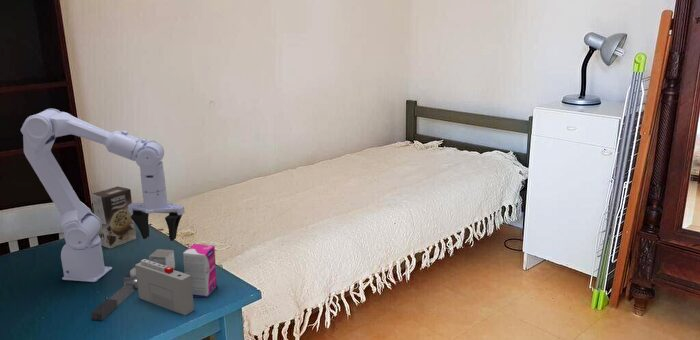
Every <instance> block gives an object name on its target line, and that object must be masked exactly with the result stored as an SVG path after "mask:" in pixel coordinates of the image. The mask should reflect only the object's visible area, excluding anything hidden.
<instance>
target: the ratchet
mask: <svg viewBox="0 0 700 340" xmlns="http://www.w3.org/2000/svg"><path fill="white" fill-rule="evenodd" d="M135 291H138V284H137V277H136V269H135V267H133V268H132V269H130V271H129V274H127V275H125V276H124V277H123V286H122V287H120V289H118V290H117V291H116V292H114V294H113V295H112V296H110V297H109V298H106V299H104V301H103V302H101V303H100V304H99V305H98V306H96V307H95V308H94V309H93V310H92V311H91V312H90V316H91V320H92V321H101V322H102V321H104V320H105V319H106V318H108V317H109V315H110V314H112V313H113V312H114V311H115V310H116V309H117V308H118V306H119V305H121V304H122V303H123V302H124V301H125V300H126V299H127V298H128V297H129V296H131V294H133V293H134V292H135Z"/></svg>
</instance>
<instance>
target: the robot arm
mask: <svg viewBox="0 0 700 340" xmlns="http://www.w3.org/2000/svg"><path fill="white" fill-rule="evenodd" d="M20 132H21V134H22V135H23V136H22V141H23V154H24V155H25V158H26V159H27V161H28V162H29V164H30V166H31V168H32V169H33V171H34V172H35V174H36V175H37V177H38V179H39V181H40V182H41V184H42V185H43V187H44V189H45V191H46V192H47V194H48V195H49V198H50V199H51V200H52V203H53V204H54V205H55V208H57V211H58V212H59V214H60V215H61V216H60V217H61V221H60V227H61V229H62V231H63V235H64V240H65V244H64V245H63V246H62V248H61V252H60V259H61V267H62V271H63V277H62V278H61V279H62V280H64V281H75V282H77V281H78V282H87V283H88V282H89V283H95V282H97V281H99V280H100V279H101V278H102V277H104V276H105V275H106V274H107V273H108V272H110V271H111V270H113V266H105V261H104V252H103V248H102V245H101V239H100V237H99V232H100V230H101V228H102V222H101V220H100V219H99V218H98V217H97V216H96V215H94V212H92V210H91V208H90V207H88V206H86V205H84V204H82V202H81V200H80V199H79V197H78V195H77V193H76V192H75V190H74V189H73V186H72V185H71V183H70V181H69V180H68V178H67V176H66V175H65V173H64V171H63V170H62V167H61V166H60V164H59V162H58V161H57V159H56V158H55V156H54V154H53V153H52V148H53V145H54V143H55V141H56V139H57V138H59V137H63V136H68V135H73V136H76V137H79V138H82V139H84V140H89V141H91V142H95V143H98V144H100V145H104V146H105V148H106V150H107V151H108V153H112V154H114V155H117V156H119V157H121V158H124V159H128V160H130V161H132V162H135V163H136V164H137V166H139V171H140V182H141V183H140V184H141V191H142V199H143V202H132V203H131V204H130V205H128V209H129V212H133V215H131V219H132V220H133V221H134V224H135V226H137V228H138V230H139V233H140V235H141V237H142V239H143V240H146V239H148V238H149V237H150V226H149V215H150V214H168V215H167V216H165V217H164V220H165V222H166V225H167V228H168V238H169V241H170V242H171V241H172V242H173V241H174V240H176V239H177V234H178V232H177V231H178V227H179V224H180V222H181V219H182V216H183V214H184V213H185V205H180V204H174V203H170V202H168V195H167V189H166V188H167V187H166V177H165V170H164V165H163V164H164V163H163V158H164V157H165V150H164V146H162V145H161V144H160V143H159V142H157V141H156V140H147V139H146V138H142V139H141V138H139V137H136V136H133V135H131V134H129V131H128V130H124V129H123V130H115V131H112V132H111V131H108V130H106V129H103V128H100V127H99V126H96V125H94V124H92V123H90V122H87V121H85V120H82V119H80V118H78V117H75V116H73V115H72V114H71V113H68V112H65V111H60V109H56V108H47V109H44V110H43V111H40V112H39V113H36V114H33V115H29V116H27V118H26V119H25V120H24V122H23V123H22V127H21V128H20Z"/></svg>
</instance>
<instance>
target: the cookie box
mask: <svg viewBox="0 0 700 340" xmlns="http://www.w3.org/2000/svg"><path fill="white" fill-rule="evenodd" d="M91 201H92V207H93V214H94V215H96V216H97V217H98V218H99V219H100V220H101V222H102V228H101V230H100V232H99V237H100V239H101V246H103V247H105V248H107V249H113V248H115V247H116V248H117V247H118V246H121V245H123V244H126V243H130V242H132V241H134V240H136V239H137V234H136V232H137V231H136V227H135V226H136V224H135V222H134V221H133V220H132V219H131V215H133V212H129V209H128V205H130V204H131V203H133V201H132V191H131V189H130V188H127V187H122V186H115V187H111V188H107V189H105V190H104V189H103V190H100V191H96V192H93V193H91Z"/></svg>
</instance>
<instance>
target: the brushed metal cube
mask: <svg viewBox="0 0 700 340" xmlns="http://www.w3.org/2000/svg"><path fill="white" fill-rule="evenodd" d="M148 260H149V261H152V262H156V263H159V264H162V265H165V266H168V267H171V268H173V270H175V269H176V261H175V260H176V259H175V251H174V250H173V249H161V248H160V249H159V248H157V249H156V250H155V251H153V252H152V253H151V254H150V255H149V256H148Z"/></svg>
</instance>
